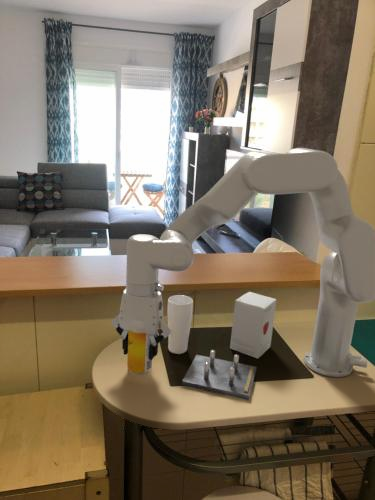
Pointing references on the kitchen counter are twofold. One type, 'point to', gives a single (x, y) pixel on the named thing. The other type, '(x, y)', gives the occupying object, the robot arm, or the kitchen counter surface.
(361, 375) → the kitchen counter surface
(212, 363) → the plate
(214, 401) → the kitchen counter surface
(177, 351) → the drinking glass
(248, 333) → the supplement box
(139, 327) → the beer can
